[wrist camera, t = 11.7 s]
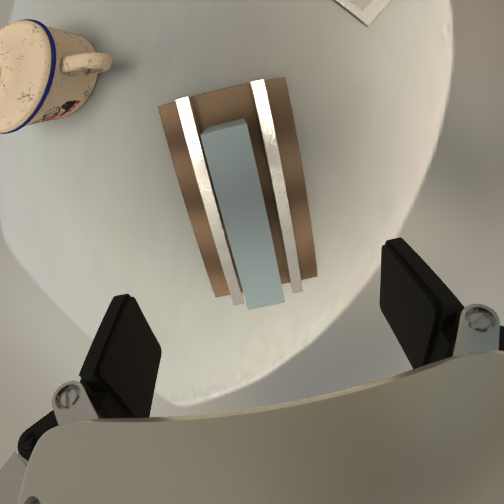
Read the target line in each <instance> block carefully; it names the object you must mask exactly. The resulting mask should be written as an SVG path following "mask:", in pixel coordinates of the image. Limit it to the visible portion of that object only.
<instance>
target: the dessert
mask: <svg viewBox="0 0 504 504" xmlns="http://www.w3.org/2000/svg"><path fill="white" fill-rule="evenodd" d="M336 1H337V2H338V3H340V4H341V5H342V6H344V7H345V8H346V9H348V10H349V11H350V12H351V13H353V14H354V15H355V16H356V17H358V18H359V19H360V20H361V21H362V22H364V23H365V24H366V25H367V26H369V25H370V24H371V23H372V22H373V21H374V19H375V18H376V17H377V16H378V15H379V14H380V13H381V11H382V10H383V9H384V8H385V7H386V6H387V5H388V4H389V2H390V1H391V0H372V2H371V3H370V4H369V5H368V6H367V7H366V8H365V9H364V10H363V11H362V10H360V9H359V8H358V7H357V6H355V5H354V4H353V3H352V2H350V1H349V0H336Z"/></svg>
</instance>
